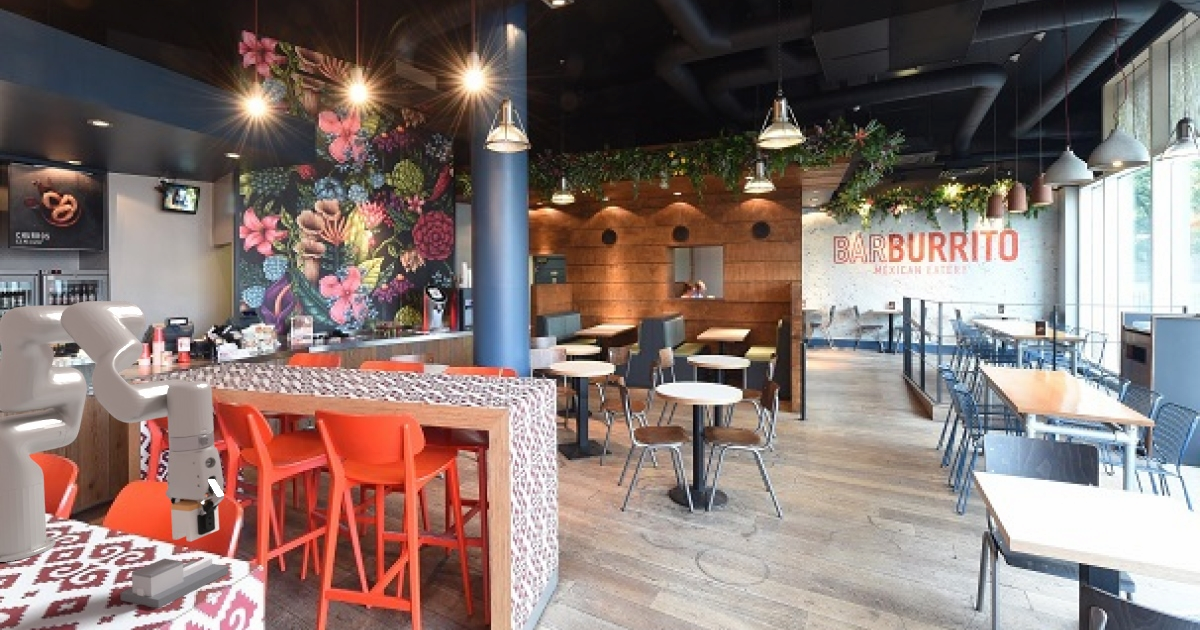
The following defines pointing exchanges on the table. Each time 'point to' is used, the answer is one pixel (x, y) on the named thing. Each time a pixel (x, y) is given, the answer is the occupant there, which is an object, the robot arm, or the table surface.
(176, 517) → the block
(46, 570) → the table surface
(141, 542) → the table surface
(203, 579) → the rail board
